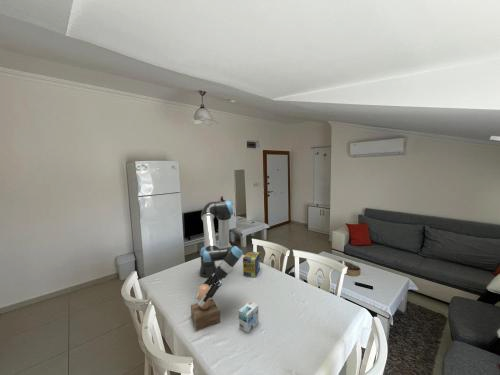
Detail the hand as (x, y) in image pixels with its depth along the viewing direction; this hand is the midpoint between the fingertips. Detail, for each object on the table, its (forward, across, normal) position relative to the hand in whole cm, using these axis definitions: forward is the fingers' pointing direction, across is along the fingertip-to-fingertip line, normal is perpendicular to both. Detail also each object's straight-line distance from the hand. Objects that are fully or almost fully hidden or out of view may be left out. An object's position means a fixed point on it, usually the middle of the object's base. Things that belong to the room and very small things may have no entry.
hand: (198, 302), depth 128 cm
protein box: (-29, +36, -46) cm, 66 cm away
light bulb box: (-9, -17, -26) cm, 32 cm away
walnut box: (+6, 0, -11) cm, 12 cm away
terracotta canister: (0, 0, -5) cm, 5 cm away
